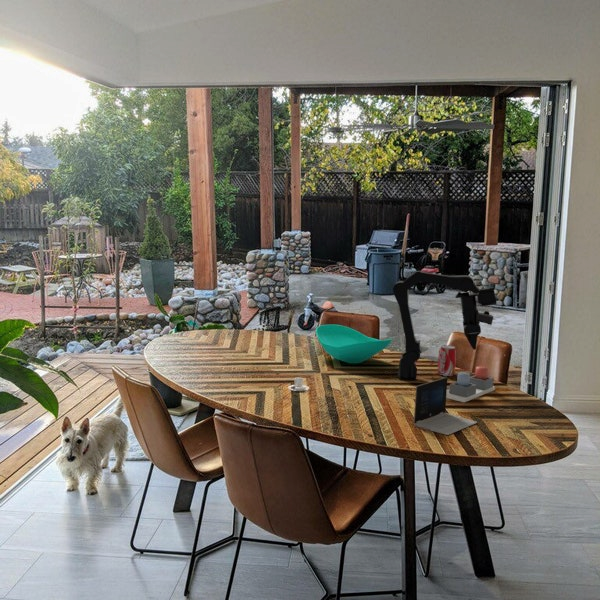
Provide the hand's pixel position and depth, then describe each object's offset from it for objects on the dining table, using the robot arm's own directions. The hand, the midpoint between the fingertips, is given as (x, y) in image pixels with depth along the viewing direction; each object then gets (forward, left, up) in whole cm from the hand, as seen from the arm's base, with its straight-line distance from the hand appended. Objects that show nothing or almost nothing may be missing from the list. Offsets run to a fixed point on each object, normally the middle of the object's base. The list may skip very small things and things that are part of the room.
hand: (474, 347), depth 253 cm
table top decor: (-43, +33, -15) cm, 57 cm away
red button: (+1, -9, -11) cm, 14 cm away
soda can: (-6, +14, -15) cm, 22 cm away
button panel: (-5, -12, -15) cm, 20 cm away
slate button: (-9, -18, -11) cm, 23 cm away
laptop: (-23, -48, -16) cm, 56 cm away
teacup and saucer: (-71, -12, -16) cm, 74 cm away
